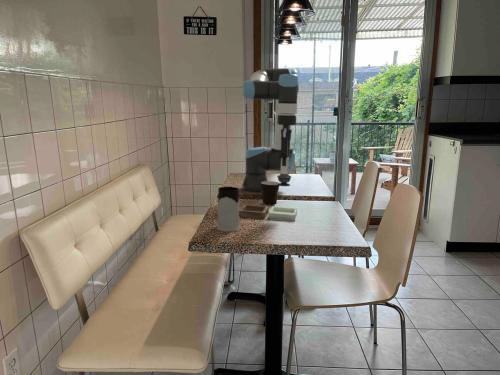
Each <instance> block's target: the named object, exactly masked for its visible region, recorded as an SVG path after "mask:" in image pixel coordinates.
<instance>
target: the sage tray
mask: <svg viewBox="0 0 500 375" xmlns="http://www.w3.org/2000/svg"><path fill="white" fill-rule="evenodd" d="M297 215H298V208H297V207H282V206H272V207H271V209H270V210H269V212H268V220H280V221H290V222H291V221H292V222H295V221H296V220H297V219H296V218H297Z"/></svg>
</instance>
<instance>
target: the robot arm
mask: <svg viewBox="0 0 500 375" xmlns="http://www.w3.org/2000/svg"><path fill="white" fill-rule="evenodd" d="M299 87H300V84H299V76H298V71H297V69H294V68H270V67H269V68H263V69H259V70H257V71H255V72H253V73H252V74H251V76H250V78H249V80H244V81H243V86H242V95H243V99H245V100H250V101H251V100H267V101H268V100H271V101H272V100H273V101H275V113H274V116H275V117H274V118H275V120H274V121H275V122H274V142H273V144H272V145H271V147H270V148H271V149H268V146H259V147H258V146H256V147H251V148H248V149H247V150H246V152H245V175H244V178H243V180H242V185H241V190H244V191H247V192H256V193H257V192H259V193H260V192H262V185H261V182H264V181H269V180H268V178H267V172H280V174H287V170H288V172H291V171H292V170H293V168H294V162H295V160H296V159H295V157H296V151H295V150H294V148H293V146H292V145H291V140H292V131H293V130H292V126H296V125H297V113H298V93H299V91H300V90H299V89H300V88H299ZM280 167H281V168H280ZM288 167H289V168H288ZM280 174H279V175H280Z"/></svg>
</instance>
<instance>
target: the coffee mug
mask: <svg viewBox="0 0 500 375" xmlns="http://www.w3.org/2000/svg"><path fill="white" fill-rule="evenodd" d="M279 183H280V182H279V181H271V180H268V181H264V182H261V185H262V191H261V194H262V195H261V197H262V204H263V205H265V204H266V205H265V206H275V204H276V205H277V201H278V196H279V190H280V186H279V185H278V184H279Z"/></svg>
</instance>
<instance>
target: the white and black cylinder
mask: <svg viewBox="0 0 500 375" xmlns="http://www.w3.org/2000/svg"><path fill="white" fill-rule="evenodd" d="M239 191H240V188H239V187H235V186H221V187H218V190H217V192H218V195H217V196H218V199H217V225H216V230H218V231H220V232H236V231H238V230H240V220H239V219H240V218H239V210H240V197H239V195H240V194H239V193H240V192H239Z"/></svg>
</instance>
